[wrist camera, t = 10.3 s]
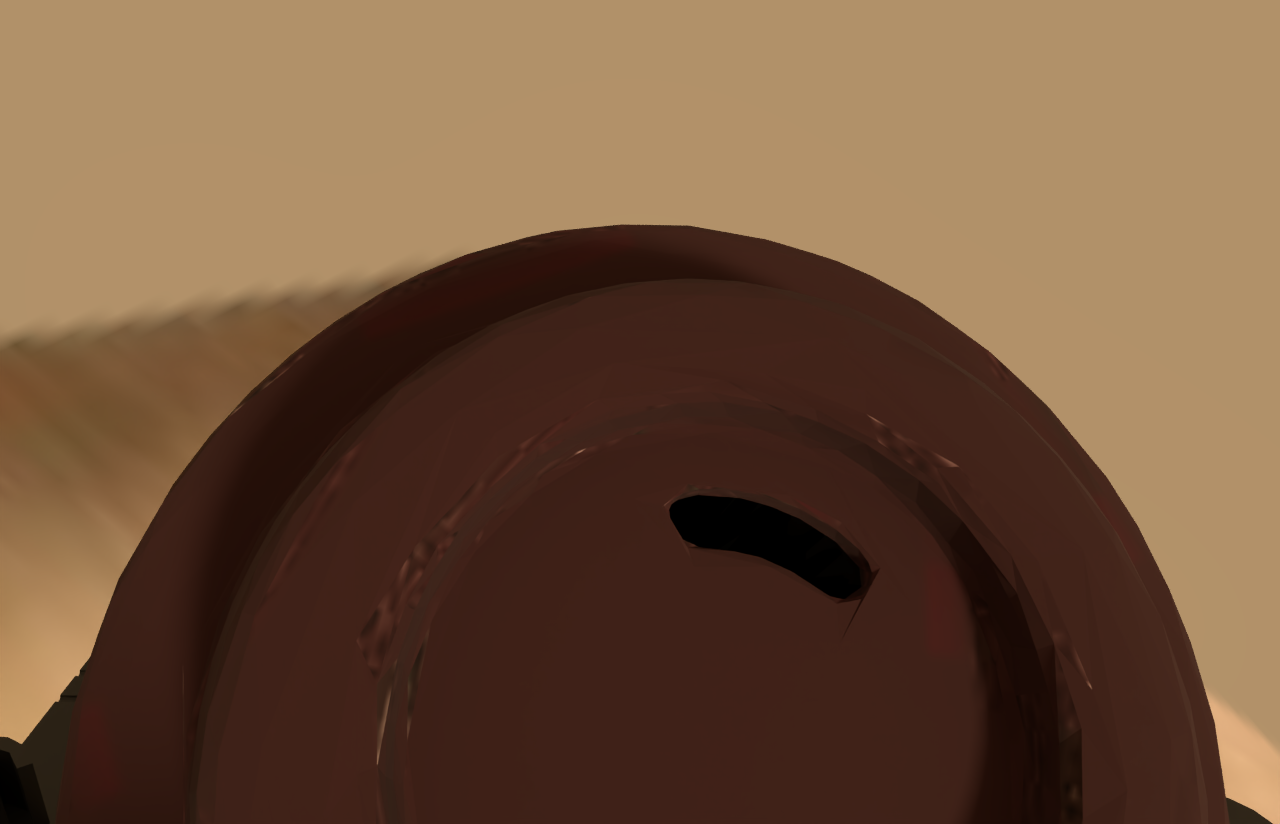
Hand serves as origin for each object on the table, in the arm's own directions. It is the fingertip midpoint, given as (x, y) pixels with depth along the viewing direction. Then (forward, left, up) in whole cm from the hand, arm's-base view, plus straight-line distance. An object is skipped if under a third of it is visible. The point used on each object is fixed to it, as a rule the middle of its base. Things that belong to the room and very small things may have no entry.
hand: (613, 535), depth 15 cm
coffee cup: (+1, -3, -6) cm, 7 cm away
